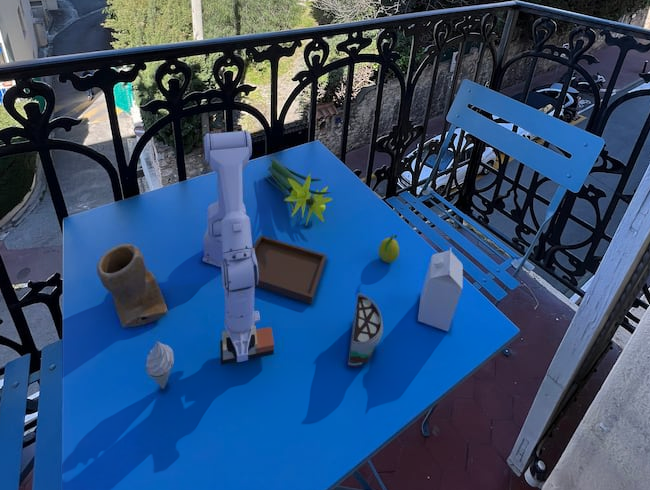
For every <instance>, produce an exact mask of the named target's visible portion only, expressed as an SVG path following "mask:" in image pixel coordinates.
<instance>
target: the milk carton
mask: <svg viewBox="0 0 650 490" xmlns="http://www.w3.org/2000/svg"><path fill="white" fill-rule="evenodd" d="M463 265H464V264H463V263H462V262H461V261H460V259H458V257H457V256H456V255H455V254H454V252H453V251H452V247H450V248H449V250H445V251H442V252H438V253H433V254H432V255H431V258H430V262H429V264H428V268H427V271H426V275H425V279H424V283H423V287H422V290H421V293H420V298H419V307H418V316H417V321H418V322H420V323H423V324H425V325H428V326H430V327H434V328H437V329H439V330H442V331H445V332H449V330H450V328H451V325H452V321H453V318H454V315H455V312H456V309H457V306H458V304H459V301H460V297H461V295H462V291H463V289H464V288H463V287H464V285H463V284H464V283H463V282H464V279H463V278H464V271H463V270H464V266H463Z"/></svg>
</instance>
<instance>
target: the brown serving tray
mask: <svg viewBox="0 0 650 490" xmlns="http://www.w3.org/2000/svg"><path fill="white" fill-rule="evenodd" d="M253 248H254V250H255V255H256V259H257V264H258V273H259V278H258V285H257V284H256V281H255V287H258V288H261V289H264V290H267V291H270V292H273V293H276V294H279V295H281V296H285V297H288V298H290V299H291V298H292V299H294V300H297V301H300V302H304V303H306V304H309V305H312V304H313V301H314V298H315V295H316V292H317V289H318V285H319V282H320V279H321V277H322V273H323V270H324V267H325V265H326V261H327V254H326V253H322V252H318V251H316V250H311V249H308V248H304V247H301V246H298V245H295V244H291V243H289V242H288V243H287V242H285V241H281V240H277V239H274V238H272V237H271V238H270V237H268V236H264V235H261V234H260V235H259V236H258V238H257V240H256V242H255V243H254V245H253ZM254 279H255V276H254Z"/></svg>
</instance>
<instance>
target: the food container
mask: <svg viewBox="0 0 650 490" xmlns="http://www.w3.org/2000/svg"><path fill="white" fill-rule="evenodd" d="M383 333H384V322H383V316H382V313H381V310H380V309H379V307H378V305H377V304H376V302H374V300H372V299H371V298H370V297H368V296H367V295H365V294H363V293H359V292H358V293H357V299H356V304H355V310H354V315H353V321H352V328H351V337H350V345H349V346H350V348H349V354H348V362H347V367H349V368H358V367H362V366H364V365H365V364H367V363H368V362H369V360H371V357H372V354H373V352H374V349H375V347H376V345H378V344H379V342H380V340H381V338H382V336H383Z"/></svg>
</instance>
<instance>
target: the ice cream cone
mask: <svg viewBox="0 0 650 490" xmlns="http://www.w3.org/2000/svg"><path fill="white" fill-rule="evenodd" d="M174 356H175V355H174V351H173V349H172V348H171V346H169V345H168V344H164V343H162V342H160V341H158V340H157V341H156V342H155V344H154V347H153V348H152V349H151V350H149V354H147V356H146V364H145V370H146V373H147V375H148V376H149V377H151V378H152V379H153V380H154V381H155V383H156V384H157V385H158V386H159V387H160V388H161V389H162V390H164V389H165V388H166V385H167V383H168V379H169V376H170V373H171V370H172V368H173V366H174V362H175V357H174Z"/></svg>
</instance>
